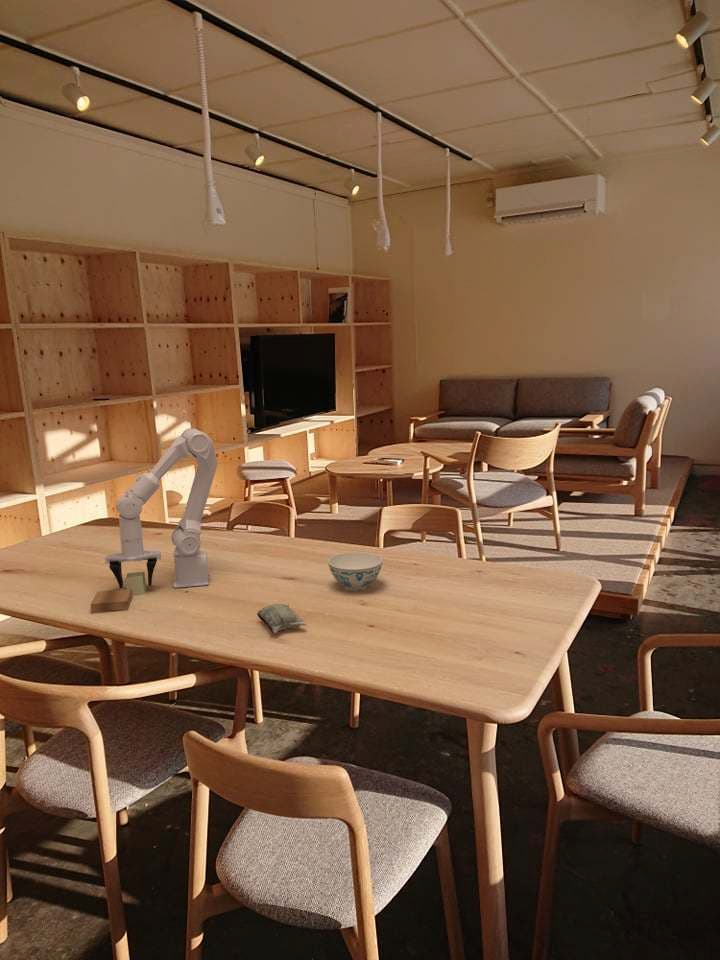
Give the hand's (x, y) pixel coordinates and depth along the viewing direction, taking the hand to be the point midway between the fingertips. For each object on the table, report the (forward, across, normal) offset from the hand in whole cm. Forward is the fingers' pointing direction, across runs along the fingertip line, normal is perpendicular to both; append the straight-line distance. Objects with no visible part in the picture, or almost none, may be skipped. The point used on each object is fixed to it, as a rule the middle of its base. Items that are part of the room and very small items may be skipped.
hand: (135, 585), depth 193 cm
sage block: (+2, 0, 0) cm, 2 cm away
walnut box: (+2, -5, -9) cm, 10 cm away
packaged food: (+2, +38, -33) cm, 50 cm away
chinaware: (+2, +60, -11) cm, 61 cm away
